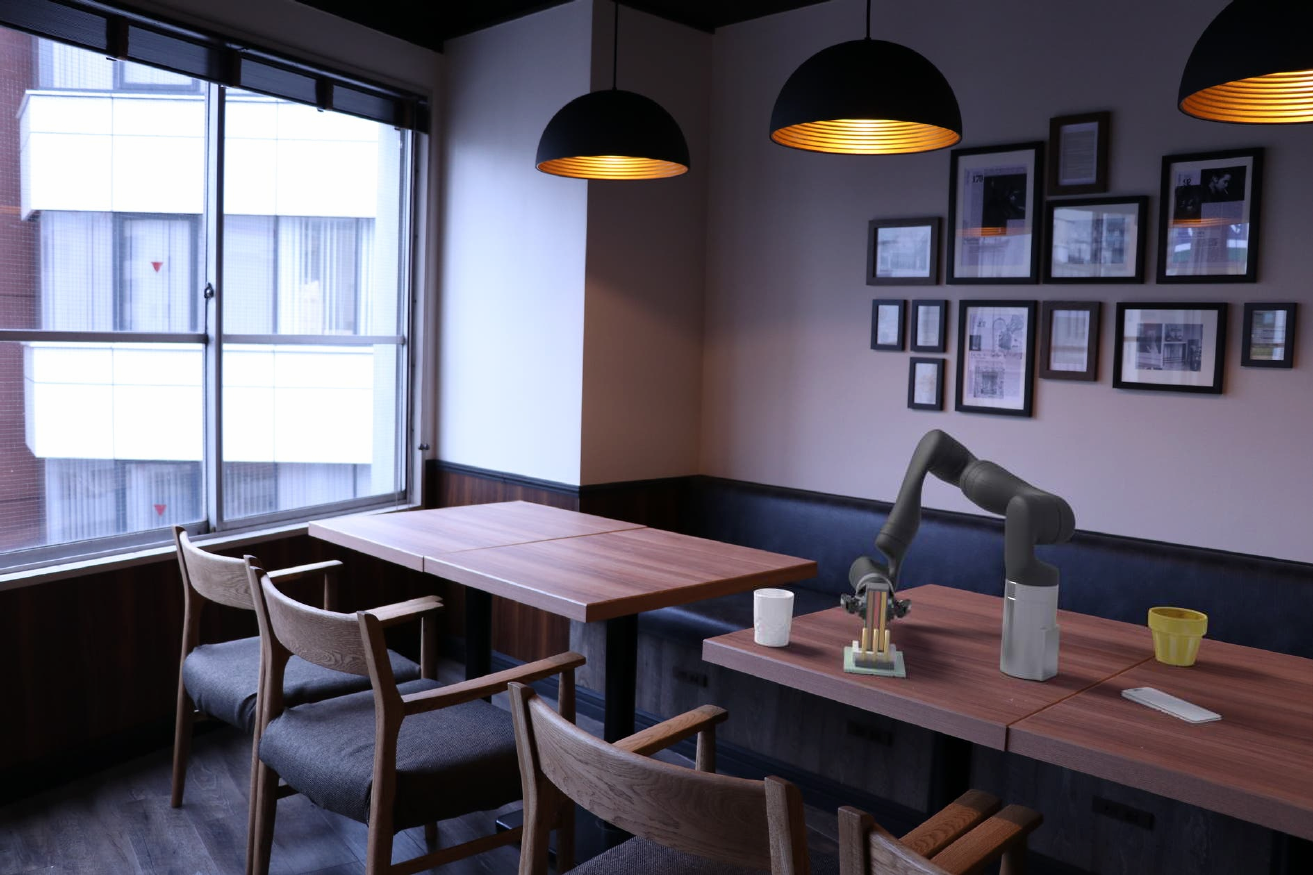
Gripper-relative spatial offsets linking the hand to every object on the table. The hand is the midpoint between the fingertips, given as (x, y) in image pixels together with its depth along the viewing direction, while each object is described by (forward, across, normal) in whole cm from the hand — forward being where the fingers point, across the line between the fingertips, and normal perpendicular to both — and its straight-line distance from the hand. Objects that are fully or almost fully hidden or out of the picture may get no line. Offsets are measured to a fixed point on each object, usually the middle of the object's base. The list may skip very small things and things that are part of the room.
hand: (876, 615), depth 193 cm
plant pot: (-22, +58, +10) cm, 63 cm away
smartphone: (+8, +49, +10) cm, 51 cm away
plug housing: (-3, 0, +7) cm, 8 cm away
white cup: (-9, -20, +10) cm, 24 cm away
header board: (-1, 0, +9) cm, 10 cm away
